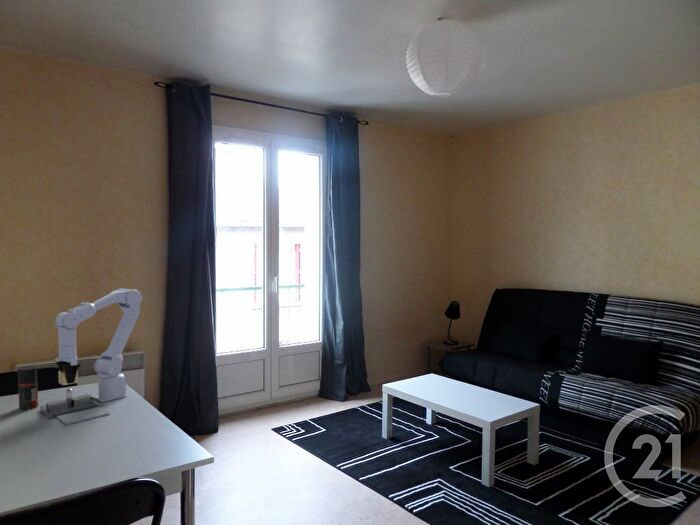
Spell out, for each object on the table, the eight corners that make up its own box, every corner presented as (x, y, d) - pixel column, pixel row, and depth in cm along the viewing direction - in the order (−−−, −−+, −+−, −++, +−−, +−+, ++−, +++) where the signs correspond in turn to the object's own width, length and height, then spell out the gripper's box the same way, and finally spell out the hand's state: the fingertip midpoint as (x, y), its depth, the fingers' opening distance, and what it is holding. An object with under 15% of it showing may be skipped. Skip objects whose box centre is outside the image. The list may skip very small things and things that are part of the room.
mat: (99, 408, 182) (99, 406, 182) (109, 414, 176) (109, 412, 175) (57, 418, 172) (57, 416, 172) (66, 425, 165) (66, 423, 165)
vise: (87, 400, 191) (86, 381, 191) (98, 407, 183) (97, 387, 183) (40, 410, 180) (39, 390, 180) (49, 418, 172) (49, 397, 171)
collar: (73, 379, 185) (73, 368, 184) (78, 382, 181) (77, 370, 181) (58, 382, 181) (58, 370, 181) (63, 385, 177) (62, 373, 177)
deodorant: (31, 410, 180) (29, 370, 180) (15, 410, 180) (13, 370, 180) (41, 405, 186) (40, 366, 186) (26, 405, 186) (24, 366, 186)
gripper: (49, 343, 183) (50, 379, 183) (61, 349, 173) (62, 387, 173) (70, 341, 188) (71, 376, 188) (83, 346, 178) (84, 383, 178)
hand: (68, 381), depth 181 cm, fingers closed on collar, 5 cm apart
